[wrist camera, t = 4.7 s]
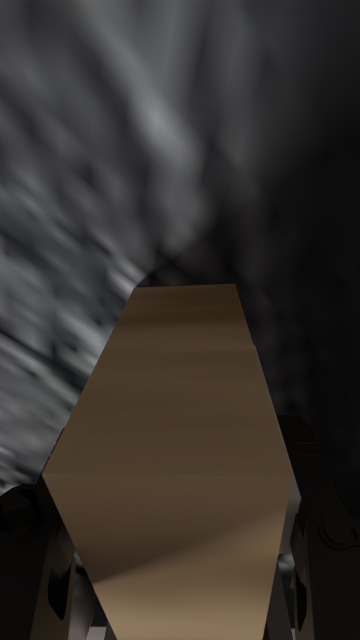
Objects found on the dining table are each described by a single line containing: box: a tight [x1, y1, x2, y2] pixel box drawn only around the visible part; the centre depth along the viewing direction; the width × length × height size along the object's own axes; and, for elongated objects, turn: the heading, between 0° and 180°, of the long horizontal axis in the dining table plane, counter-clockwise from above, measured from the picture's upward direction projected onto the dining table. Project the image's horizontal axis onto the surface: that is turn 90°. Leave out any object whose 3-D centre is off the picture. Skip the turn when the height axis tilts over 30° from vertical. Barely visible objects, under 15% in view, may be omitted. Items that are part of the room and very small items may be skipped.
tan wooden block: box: [42, 283, 293, 640], centre depth 14 cm, size 20×4×9 cm, turn 4°
